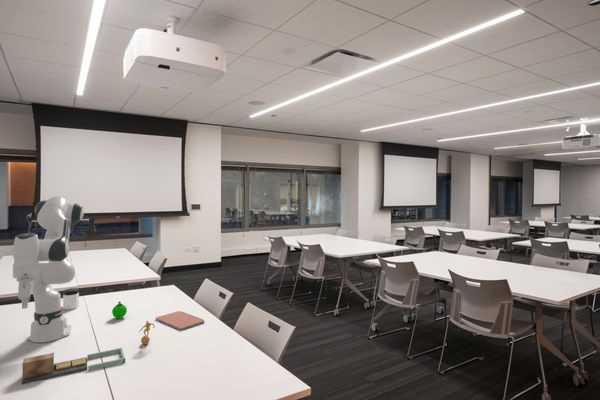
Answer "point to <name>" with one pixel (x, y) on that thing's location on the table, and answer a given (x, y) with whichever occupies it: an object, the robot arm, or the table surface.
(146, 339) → the figurine
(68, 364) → the brass chip
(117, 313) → the ornament
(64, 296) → the jar
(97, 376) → the table surface
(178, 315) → the notebook
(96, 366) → the tray
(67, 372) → the slot bed
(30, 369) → the brown wooden block
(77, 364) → the brass chip
